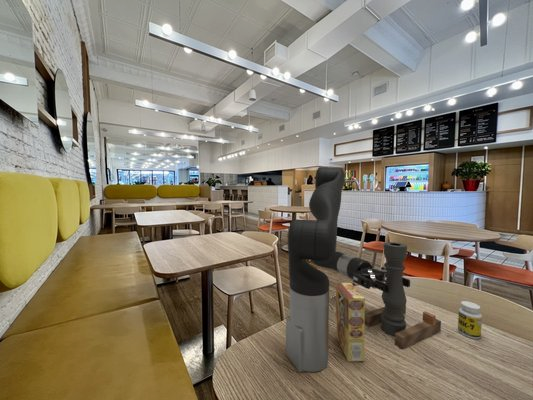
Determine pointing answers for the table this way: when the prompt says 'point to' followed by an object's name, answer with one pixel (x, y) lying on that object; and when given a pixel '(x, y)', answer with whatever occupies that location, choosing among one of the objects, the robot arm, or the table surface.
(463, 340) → the table surface
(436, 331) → the guide rails
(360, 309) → the candy box
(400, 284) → the candle holder
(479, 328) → the supplement bottle
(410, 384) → the table surface
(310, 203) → the robot arm
